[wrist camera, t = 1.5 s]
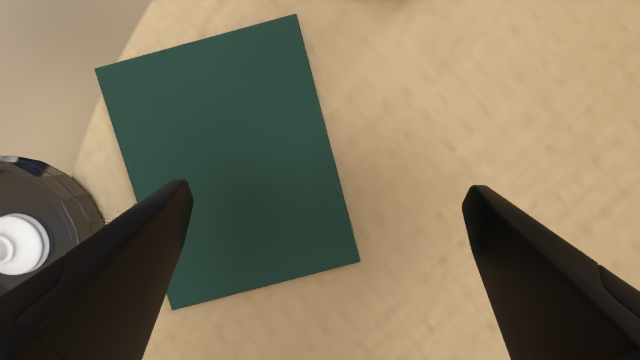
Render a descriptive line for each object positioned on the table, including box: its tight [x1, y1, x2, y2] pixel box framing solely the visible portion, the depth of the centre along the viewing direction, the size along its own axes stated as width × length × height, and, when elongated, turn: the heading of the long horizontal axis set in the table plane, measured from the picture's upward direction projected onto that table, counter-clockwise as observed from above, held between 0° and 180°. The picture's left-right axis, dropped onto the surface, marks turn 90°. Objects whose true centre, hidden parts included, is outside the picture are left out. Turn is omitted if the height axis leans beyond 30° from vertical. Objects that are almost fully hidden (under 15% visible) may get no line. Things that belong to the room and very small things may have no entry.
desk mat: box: [95, 14, 360, 310], centre depth 24 cm, size 20×16×1 cm
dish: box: [0, 156, 104, 296], centre depth 23 cm, size 14×14×3 cm
